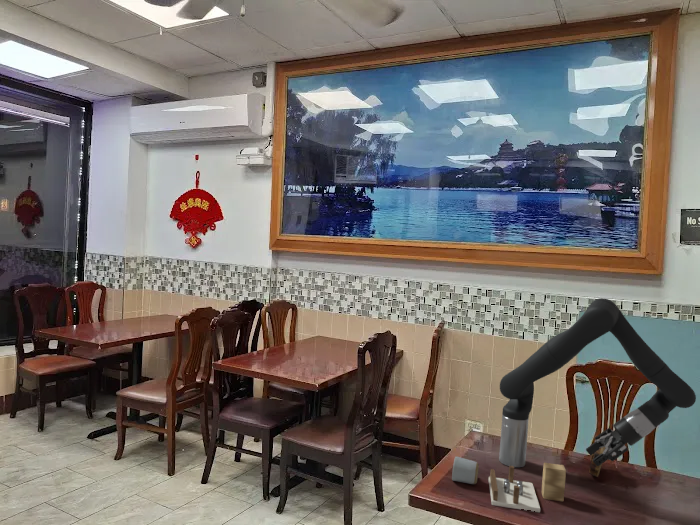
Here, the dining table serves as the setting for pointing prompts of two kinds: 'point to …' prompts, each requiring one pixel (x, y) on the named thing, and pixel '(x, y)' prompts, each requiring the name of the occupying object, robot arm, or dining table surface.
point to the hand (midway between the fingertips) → (591, 457)
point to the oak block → (553, 482)
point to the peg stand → (506, 500)
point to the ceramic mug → (465, 470)
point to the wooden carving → (593, 467)
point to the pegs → (507, 487)
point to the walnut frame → (511, 476)
